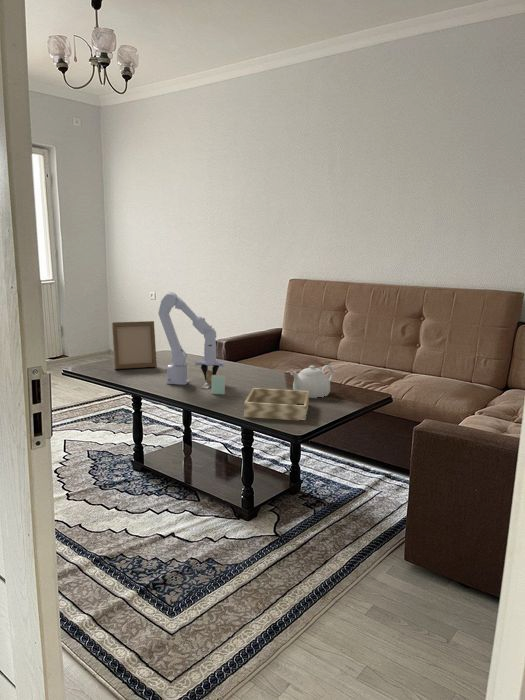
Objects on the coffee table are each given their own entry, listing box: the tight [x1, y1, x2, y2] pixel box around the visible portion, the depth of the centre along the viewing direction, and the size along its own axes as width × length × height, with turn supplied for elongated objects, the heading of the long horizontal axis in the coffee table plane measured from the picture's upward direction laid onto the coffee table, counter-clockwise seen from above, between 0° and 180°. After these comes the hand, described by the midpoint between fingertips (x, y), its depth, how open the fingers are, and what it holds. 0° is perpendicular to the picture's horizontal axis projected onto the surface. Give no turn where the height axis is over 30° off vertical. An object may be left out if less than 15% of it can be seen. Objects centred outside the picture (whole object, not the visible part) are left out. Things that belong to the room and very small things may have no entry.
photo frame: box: [111, 320, 158, 370], centre depth 296 cm, size 15×22×25 cm
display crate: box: [243, 387, 310, 421], centre depth 225 cm, size 24×22×6 cm
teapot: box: [290, 364, 335, 399], centre depth 251 cm, size 19×18×14 cm
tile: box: [210, 374, 226, 395], centre depth 248 cm, size 6×2×8 cm, turn 82°
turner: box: [201, 370, 213, 390], centre depth 262 cm, size 3×13×6 cm, turn 172°
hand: (210, 380), depth 267 cm, fingers open, 3 cm apart
